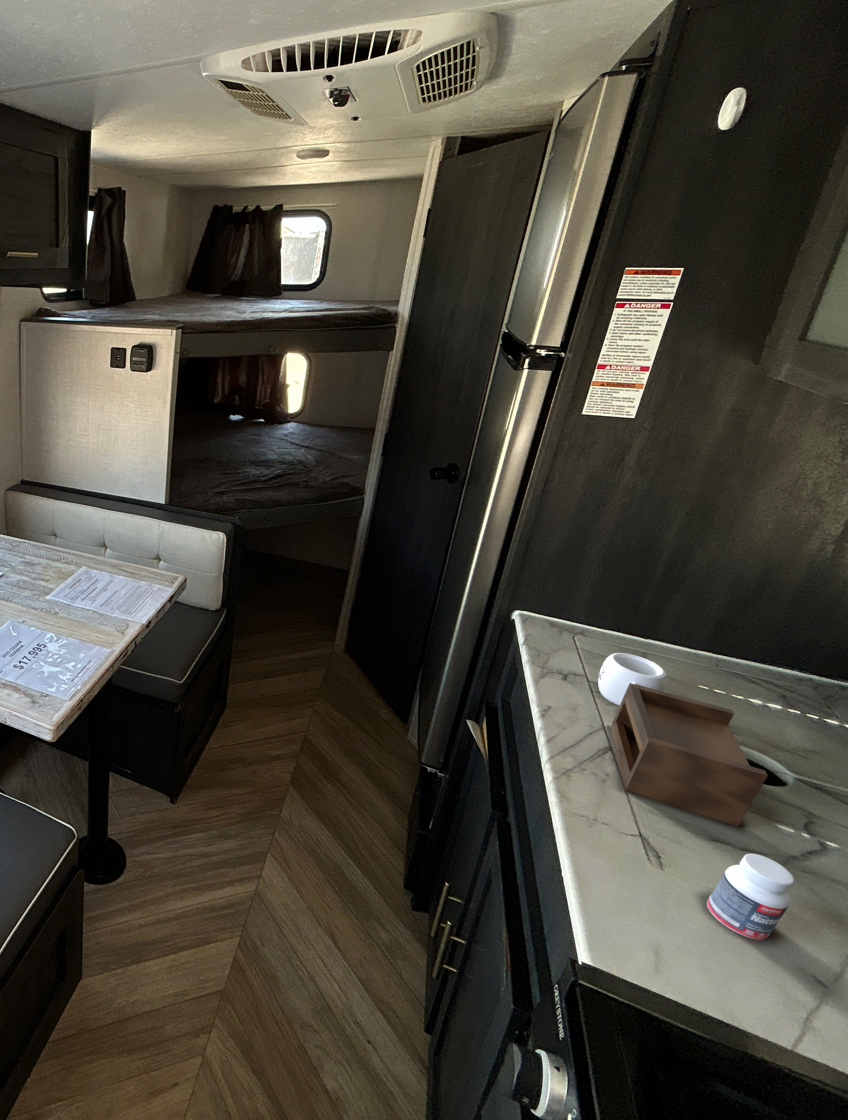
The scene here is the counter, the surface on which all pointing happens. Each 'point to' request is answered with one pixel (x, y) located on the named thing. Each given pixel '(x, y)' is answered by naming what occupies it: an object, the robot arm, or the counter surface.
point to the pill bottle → (752, 896)
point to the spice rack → (683, 755)
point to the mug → (628, 675)
